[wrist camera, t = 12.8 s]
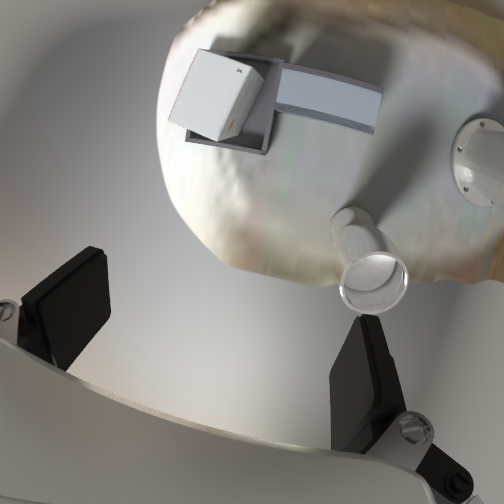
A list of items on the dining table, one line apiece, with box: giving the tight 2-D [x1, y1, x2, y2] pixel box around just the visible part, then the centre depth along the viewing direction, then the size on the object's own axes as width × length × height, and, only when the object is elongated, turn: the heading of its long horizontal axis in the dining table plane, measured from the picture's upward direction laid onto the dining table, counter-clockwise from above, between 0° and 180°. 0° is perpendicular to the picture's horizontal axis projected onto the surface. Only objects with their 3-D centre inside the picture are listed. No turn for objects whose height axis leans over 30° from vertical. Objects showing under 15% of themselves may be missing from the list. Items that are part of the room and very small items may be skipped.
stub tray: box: [185, 49, 285, 155], centre depth 34 cm, size 10×12×2 cm
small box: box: [168, 49, 265, 141], centre depth 30 cm, size 8×6×10 cm
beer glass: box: [330, 207, 409, 314], centre depth 33 cm, size 7×7×15 cm
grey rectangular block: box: [274, 63, 384, 135], centre depth 30 cm, size 10×5×8 cm, turn 80°
